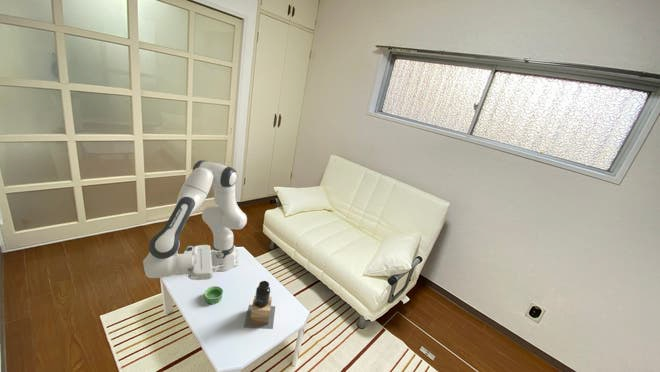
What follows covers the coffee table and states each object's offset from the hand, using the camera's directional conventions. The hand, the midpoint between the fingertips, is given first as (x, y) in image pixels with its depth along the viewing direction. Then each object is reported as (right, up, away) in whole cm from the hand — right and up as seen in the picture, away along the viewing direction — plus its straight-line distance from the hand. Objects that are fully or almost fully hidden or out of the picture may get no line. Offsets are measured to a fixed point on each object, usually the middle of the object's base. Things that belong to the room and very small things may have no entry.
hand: (222, 259), depth 121 cm
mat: (+13, -34, +15) cm, 40 cm away
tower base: (+14, -34, +15) cm, 39 cm away
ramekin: (-13, -27, +20) cm, 36 cm away
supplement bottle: (+15, -25, +12) cm, 32 cm away
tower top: (+14, -30, +13) cm, 35 cm away
